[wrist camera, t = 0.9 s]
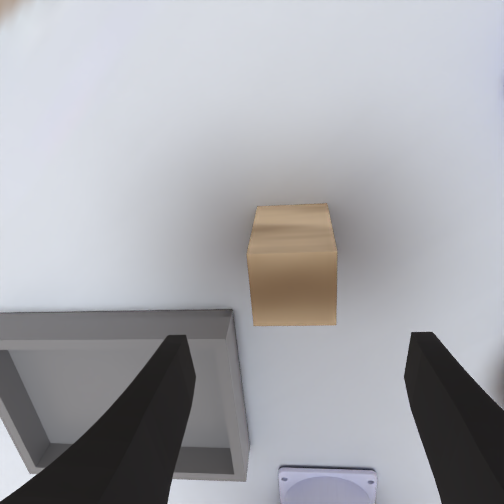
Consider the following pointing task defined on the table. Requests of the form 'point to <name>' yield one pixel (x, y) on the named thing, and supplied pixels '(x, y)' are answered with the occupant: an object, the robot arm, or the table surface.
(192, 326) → the tray
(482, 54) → the table surface
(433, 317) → the table surface
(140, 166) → the table surface
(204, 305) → the table surface
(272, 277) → the maple block
